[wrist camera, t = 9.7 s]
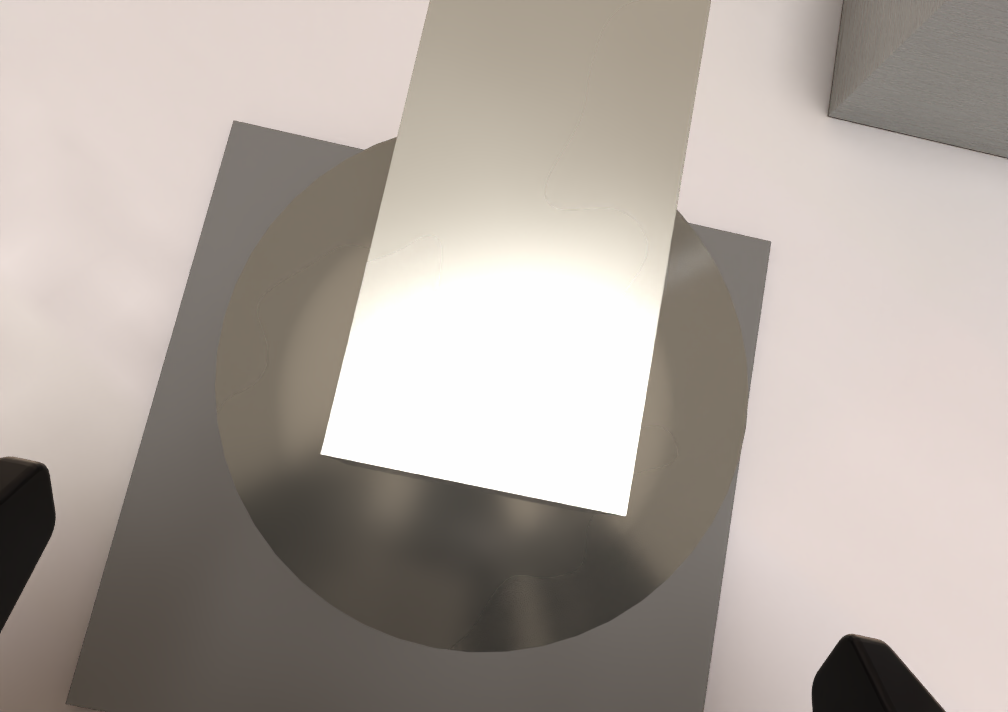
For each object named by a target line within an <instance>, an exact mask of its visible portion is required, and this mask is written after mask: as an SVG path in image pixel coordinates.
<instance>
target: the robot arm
mask: <svg viewBox="0 0 1008 712" xmlns="http://www.w3.org/2000/svg"><path fill="white" fill-rule="evenodd" d="M55 518H56V517H55V507H54V501H53V494H52V487H51V481H50V474H49V470H48V469H47V467H46V466H45V465H44V464H42V463H40V462H36V461H31V460H27V459H22V458H17V457H3V458H0V633H1V631H2V629H3V627H4V625H5V623H6V621H7V619H8V617H9V615H10V614H11V612H12V610H13V608H14V606H15V604H16V602H17V600H18V598H19V596H20V595H21V593H22V591H23V589H24V587H25V585H26V583H27V581H28V579H29V577H30V576H31V574H32V572H33V570H34V568H35V566H36V564H37V562H38V560H39V558H40V557H41V555H42V553H43V551H44V549H45V547H46V545H47V543H48V541H49V539H50V537H51V535H52V532H53V530H54V526H55ZM812 707H813V712H946V711H945V710H944V709H943V708H942V707H941V706H940V704H939V703H938V702H937V701H936V700H935V699H934V697H933V696H932V695H931V694H930V693H929V692H928V690H927V689H926V688H925V687H924V686H923V685H922V683H921V682H920V681H919V680H918V679H917V678H916V677H915V675H914V674H913V673H912V672H911V671H910V670H909V668H908V667H907V666H906V665H905V664H904V663H903V661H902V660H901V659H900V658H899V657H898V656H897V654H896V653H895V652H894V651H893V650H892V649H891V648H890V647H889V646H888V645H887V644H886V643H885V642H883V641H881V640H879V639H875V638H870V637H865V636H861V635H856V634H848V635H846V636H844V637H842V638H841V639H840V641H839V642H838V643H837V645H836V646H835V648H834V649H833V651H832V652H831V653H830V655H829V656H828V658H827V659H826V661H825V662H824V663H823V665H822V666H821V668H820V669H819V671H818V672H817V674H816V676H815V678H814V681H813V685H812Z"/></svg>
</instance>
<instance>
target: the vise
mask: <svg viewBox="0 0 1008 712" xmlns="http://www.w3.org/2000/svg"><path fill="white" fill-rule="evenodd" d="M828 116H831V117H835V118H839V119H843V120H848V121H852V122H856V123H860V124H865V125H869V126H873V127H878V128H882V129H886V130H890V131H895V132H899V133H903V134H908V135H912V136H916V137H920V138H925V139H929V140H933V141H937V142H942V143H946V144H950V145H955V146H959V147H963V148H967V149H972V150H976V151H980V152H985V153H989V154H993V155H997V156H1002V157H1006V158H1008V0H844V3H843V10H842V18H841V25H840V33H839V40H838V48H837V55H836V63H835V70H834V77H833V85H832V92H831V100H830V107H829V115H828Z"/></svg>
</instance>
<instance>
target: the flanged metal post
mask: <svg viewBox="0 0 1008 712" xmlns="http://www.w3.org/2000/svg"><path fill="white" fill-rule="evenodd" d="M710 4H711V0H430V3H429V7H428V11H427V15H426V19H425V23H424V28H423V32H422V36H421V40H420V44H419V48H418V52H417V57H416V61H415V65H414V69H413V73H412V77H411V82H410V86H409V90H408V94H407V98H406V102H405V107H404V111H403V115H402V119H401V123H400V127H399V131H398V136H397V137H396V138H393V139H390V140H387V141H384V142H381V143H378V144H376V145H374V146H372V147H370V148H368V149H366V150H364V151H362V152H360V153H358V154H356V155H354V156H352V157H349V158H347V159H346V160H344V161H343V162H341V163H340V164H338V165H337V166H335V167H334V168H332V169H331V170H329V171H328V172H326V173H325V174H323V175H322V176H320V177H319V178H317V179H316V180H315V181H314V182H313V183H312V184H310V185H309V186H308V187H307V188H306V189H305V190H303V191H302V192H301V193H300V194H299V195H298V196H297V197H295V198H294V199H293V200H292V201H291V202H290V203H289V205H288V206H287V207H286V208H285V209H284V210H283V211H282V212H281V214H280V215H279V216H278V217H277V218H276V219H275V220H274V221H273V223H272V224H271V225H270V226H269V228H268V229H267V231H266V232H265V234H264V235H263V236H262V238H261V239H260V241H259V242H258V244H257V245H256V247H255V248H254V250H253V251H252V253H251V254H250V256H249V258H248V260H247V262H246V264H245V266H244V268H243V270H242V272H241V274H240V276H239V278H238V280H237V282H236V284H235V287H234V290H233V293H232V296H231V299H230V302H229V304H228V307H227V310H226V313H225V316H224V320H223V325H222V330H221V335H220V340H219V345H218V350H217V362H216V378H215V395H216V409H217V423H218V427H219V432H220V437H221V442H222V446H223V451H224V456H225V459H226V462H227V465H228V468H229V471H230V473H231V476H232V479H233V482H234V484H235V487H236V490H237V493H238V494H239V496H240V498H241V500H242V502H243V504H244V506H245V508H246V510H247V512H248V513H249V515H250V517H251V519H252V521H253V523H254V525H255V526H256V528H257V529H258V530H259V532H260V533H261V535H262V536H263V537H264V539H265V540H266V542H267V543H268V544H269V546H270V547H271V549H272V550H273V551H274V553H275V554H276V555H277V556H278V557H279V559H280V560H281V561H282V562H283V563H284V564H285V565H286V566H287V567H288V568H289V569H290V570H291V571H292V572H293V573H294V574H295V575H296V576H297V577H298V579H299V580H300V581H301V582H303V583H304V584H305V585H306V586H308V587H309V588H310V589H311V590H313V591H314V592H315V593H316V594H318V595H319V596H320V597H321V598H323V599H324V600H325V601H326V602H328V603H329V604H330V605H332V606H333V607H335V608H337V609H338V610H340V611H342V612H344V613H345V614H347V615H349V616H350V617H352V618H354V619H355V620H357V621H359V622H360V623H362V624H364V625H367V626H369V627H371V628H374V629H376V630H379V631H381V632H383V633H386V634H388V635H390V636H393V637H395V638H398V639H402V640H406V641H409V642H413V643H417V644H421V645H424V646H428V647H432V648H439V649H447V650H455V651H463V652H508V651H514V650H521V649H527V648H534V647H540V646H545V645H548V644H552V643H555V642H558V641H562V640H565V639H568V638H572V637H575V636H578V635H580V634H583V633H585V632H587V631H589V630H591V629H594V628H596V627H598V626H600V625H602V624H605V623H607V622H609V621H611V620H613V619H614V618H616V617H617V616H619V615H621V614H622V613H624V612H625V611H627V610H629V609H630V608H632V607H633V606H635V605H636V604H638V603H640V602H641V601H642V600H644V599H645V598H646V597H647V596H648V595H650V594H651V593H652V592H653V591H654V590H655V589H657V588H658V587H659V586H660V585H661V584H663V583H664V582H665V581H666V580H667V579H669V577H670V576H671V575H672V574H673V573H674V572H675V571H676V570H677V569H678V568H679V566H680V565H681V564H682V563H683V562H684V561H685V560H686V559H687V558H688V556H689V555H690V554H691V553H692V552H693V551H694V549H695V548H696V546H697V545H698V543H699V542H700V540H701V539H702V537H703V536H704V534H705V533H706V532H707V530H708V529H709V527H710V526H711V524H712V523H713V521H714V519H715V517H716V515H717V513H718V511H719V509H720V507H721V505H722V503H723V501H724V499H725V497H726V495H727V493H728V490H729V487H730V485H731V482H732V479H733V476H734V473H735V470H736V467H737V464H738V462H739V458H740V453H741V448H742V443H743V439H744V434H745V429H746V419H747V406H748V375H747V359H746V353H745V348H744V342H743V337H742V331H741V326H740V323H739V320H738V317H737V314H736V310H735V307H734V304H733V301H732V298H731V295H730V293H729V290H728V288H727V286H726V284H725V282H724V280H723V277H722V275H721V273H720V271H719V269H718V267H717V265H716V263H715V261H714V260H713V258H712V257H711V255H710V253H709V252H708V250H707V249H706V247H705V245H704V244H703V242H702V241H701V239H700V237H699V236H698V235H697V233H696V232H695V231H694V230H693V229H692V227H691V226H690V225H689V224H688V222H687V221H686V220H685V219H684V217H683V216H682V215H681V214H680V212H679V211H678V210H677V203H678V197H679V191H680V185H681V179H682V173H683V167H684V161H685V155H686V149H687V143H688V137H689V131H690V125H691V119H692V113H693V106H694V100H695V94H696V88H697V82H698V76H699V70H700V64H701V58H702V52H703V46H704V40H705V34H706V28H707V22H708V16H709V10H710Z"/></svg>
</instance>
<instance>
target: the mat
mask: <svg viewBox="0 0 1008 712" xmlns="http://www.w3.org/2000/svg"><path fill="white" fill-rule="evenodd" d="M362 151H364V150H363V149H358V148H354V147H349V146H345V145H340V144H336V143H332V142H327V141H323V140H318V139H314V138H309V137H305V136H301V135H296V134H292V133H287V132H283V131H278V130H274V129H269V128H265V127H261V126H256V125H252V124H247V123H243V122H238V121H233V124H232V128H231V131H230V135H229V138H228V142H227V145H226V149H225V152H224V156H223V159H222V162H221V166H220V169H219V173H218V176H217V180H216V183H215V187H214V190H213V194H212V197H211V201H210V204H209V208H208V211H207V215H206V218H205V222H204V225H203V228H202V232H201V235H200V239H199V242H198V246H197V249H196V253H195V256H194V260H193V263H192V267H191V270H190V274H189V277H188V281H187V284H186V288H185V291H184V294H183V298H182V301H181V305H180V308H179V312H178V315H177V319H176V322H175V326H174V329H173V333H172V336H171V340H170V343H169V347H168V350H167V354H166V357H165V360H164V364H163V367H162V371H161V374H160V378H159V381H158V385H157V388H156V392H155V395H154V399H153V402H152V406H151V409H150V413H149V416H148V420H147V423H146V426H145V430H144V433H143V437H142V440H141V444H140V447H139V451H138V454H137V458H136V461H135V465H134V468H133V472H132V475H131V479H130V482H129V486H128V489H127V492H126V496H125V499H124V503H123V506H122V510H121V513H120V517H119V520H118V524H117V527H116V531H115V534H114V538H113V541H112V545H111V548H110V552H109V555H108V559H107V562H106V565H105V569H104V572H103V576H102V579H101V583H100V586H99V590H98V593H97V597H96V600H95V604H94V607H93V611H92V614H91V618H90V621H89V625H88V628H87V631H86V635H85V638H84V642H83V645H82V649H81V652H80V656H79V659H78V663H77V666H76V670H75V673H74V677H73V680H72V684H71V687H70V691H69V694H68V697H67V701H66V704H68V705H73V706H78V707H84V708H89V709H94V710H100V711H105V712H703V710H704V703H705V696H706V689H707V682H708V675H709V668H710V661H711V655H712V648H713V641H714V634H715V627H716V620H717V613H718V606H719V599H720V592H721V585H722V578H723V571H724V564H725V558H726V551H727V544H728V537H729V530H730V523H731V516H732V509H733V502H734V495H735V488H736V481H737V474H738V467H739V462H738V464H737V467H736V470H735V473H734V476H733V479H732V482H731V485H730V487H729V490H728V493H727V495H726V497H725V499H724V501H723V503H722V505H721V507H720V509H719V511H718V513H717V515H716V517H715V519H714V521H713V523H712V524H711V526H710V527H709V529H708V530H707V532H706V533H705V534H704V536H703V537H702V539H701V540H700V542H699V543H698V545H697V546H696V548H695V549H694V551H693V552H692V553H691V554H690V555H689V556H688V558H687V559H686V560H685V561H684V562H683V563H682V564H681V565H680V566H679V568H678V569H677V570H676V571H675V572H674V573H673V574H672V575H671V576H670V577H669V579H667V580H666V581H665V582H664V583H663V584H661V585H660V586H659V587H658V588H657V589H655V590H654V591H653V592H652V593H651V594H650V595H648V596H647V597H646V598H645V599H644V600H642V601H641V602H640V603H638V604H636V605H635V606H633V607H632V608H630V609H629V610H627V611H625V612H624V613H622V614H621V615H619V616H617V617H616V618H614V619H613V620H611V621H609V622H607V623H605V624H602V625H600V626H598V627H596V628H594V629H591V630H589V631H587V632H585V633H583V634H580V635H578V636H575V637H572V638H568V639H565V640H562V641H558V642H555V643H552V644H548V645H545V646H540V647H534V648H527V649H521V650H514V651H508V652H463V651H455V650H447V649H439V648H432V647H428V646H424V645H421V644H417V643H413V642H409V641H406V640H402V639H398V638H395V637H393V636H390V635H388V634H386V633H383V632H381V631H379V630H376V629H374V628H371V627H369V626H367V625H364V624H362V623H360V622H359V621H357V620H355V619H354V618H352V617H350V616H349V615H347V614H345V613H344V612H342V611H340V610H338V609H337V608H335V607H333V606H332V605H330V604H329V603H328V602H326V601H325V600H324V599H323V598H321V597H320V596H319V595H318V594H316V593H315V592H314V591H313V590H311V589H310V588H309V587H308V586H306V585H305V584H304V583H303V582H301V581H300V580H299V579H298V577H297V576H296V575H295V574H294V573H293V572H292V571H291V570H290V569H289V568H288V567H287V566H286V565H285V564H284V563H283V562H282V561H281V560H280V559H279V557H278V556H277V555H276V554H275V553H274V551H273V550H272V549H271V547H270V546H269V544H268V543H267V542H266V540H265V539H264V537H263V536H262V535H261V533H260V532H259V530H258V529H257V528H256V526H255V525H254V523H253V521H252V519H251V517H250V515H249V513H248V512H247V510H246V508H245V506H244V504H243V502H242V500H241V498H240V496H239V494H238V493H237V490H236V487H235V484H234V482H233V479H232V476H231V473H230V471H229V468H228V465H227V462H226V459H225V456H224V451H223V446H222V442H221V437H220V432H219V427H218V423H217V409H216V395H215V378H216V362H217V350H218V345H219V340H220V335H221V330H222V325H223V320H224V316H225V313H226V310H227V307H228V304H229V302H230V299H231V296H232V293H233V290H234V287H235V284H236V282H237V280H238V278H239V276H240V274H241V272H242V270H243V268H244V266H245V264H246V262H247V260H248V258H249V256H250V254H251V253H252V251H253V250H254V248H255V247H256V245H257V244H258V242H259V241H260V239H261V238H262V236H263V235H264V234H265V232H266V231H267V229H268V228H269V226H270V225H271V224H272V223H273V221H274V220H275V219H276V218H277V217H278V216H279V215H280V214H281V212H282V211H283V210H284V209H285V208H286V207H287V206H288V205H289V203H290V202H291V201H292V200H293V199H294V198H295V197H297V196H298V195H299V194H300V193H301V192H302V191H303V190H305V189H306V188H307V187H308V186H309V185H310V184H312V183H313V182H314V181H315V180H316V179H317V178H319V177H320V176H322V175H323V174H325V173H326V172H328V171H329V170H331V169H332V168H334V167H335V166H337V165H338V164H340V163H341V162H343V161H344V160H346V159H347V158H349V157H352V156H354V155H356V154H358V153H360V152H362ZM688 224H689V225H690V226H691V227H692V229H693V230H694V231H695V232H696V233H697V235H698V236H699V237H700V239H701V241H702V242H703V244H704V245H705V247H706V249H707V250H708V252H709V253H710V255H711V257H712V258H713V260H714V261H715V263H716V265H717V267H718V269H719V271H720V273H721V275H722V277H723V280H724V282H725V284H726V286H727V288H728V290H729V293H730V295H731V298H732V301H733V304H734V307H735V310H736V314H737V317H738V320H739V323H740V326H741V331H742V337H743V342H744V348H745V353H746V359H747V375H748V398H749V391H750V384H751V377H752V370H753V364H754V357H755V350H756V343H757V336H758V329H759V322H760V315H761V308H762V301H763V294H764V287H765V280H766V273H767V267H768V260H769V253H770V246H771V241H767V240H762V239H758V238H753V237H749V236H744V235H740V234H735V233H731V232H727V231H722V230H718V229H713V228H709V227H704V226H700V225H696V224H691V223H688ZM740 454H741V453H740ZM739 461H740V458H739Z"/></svg>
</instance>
